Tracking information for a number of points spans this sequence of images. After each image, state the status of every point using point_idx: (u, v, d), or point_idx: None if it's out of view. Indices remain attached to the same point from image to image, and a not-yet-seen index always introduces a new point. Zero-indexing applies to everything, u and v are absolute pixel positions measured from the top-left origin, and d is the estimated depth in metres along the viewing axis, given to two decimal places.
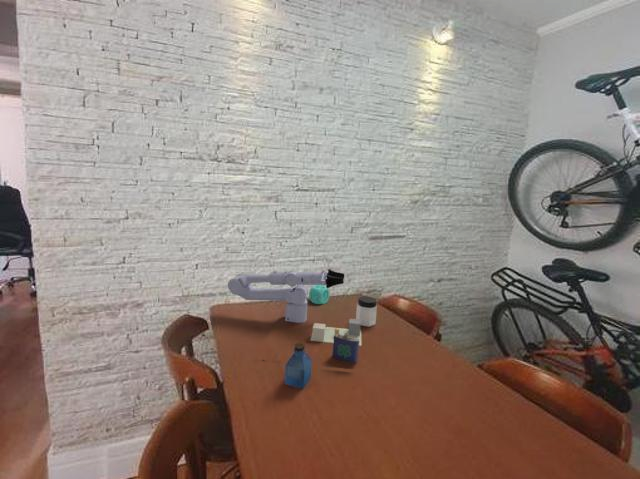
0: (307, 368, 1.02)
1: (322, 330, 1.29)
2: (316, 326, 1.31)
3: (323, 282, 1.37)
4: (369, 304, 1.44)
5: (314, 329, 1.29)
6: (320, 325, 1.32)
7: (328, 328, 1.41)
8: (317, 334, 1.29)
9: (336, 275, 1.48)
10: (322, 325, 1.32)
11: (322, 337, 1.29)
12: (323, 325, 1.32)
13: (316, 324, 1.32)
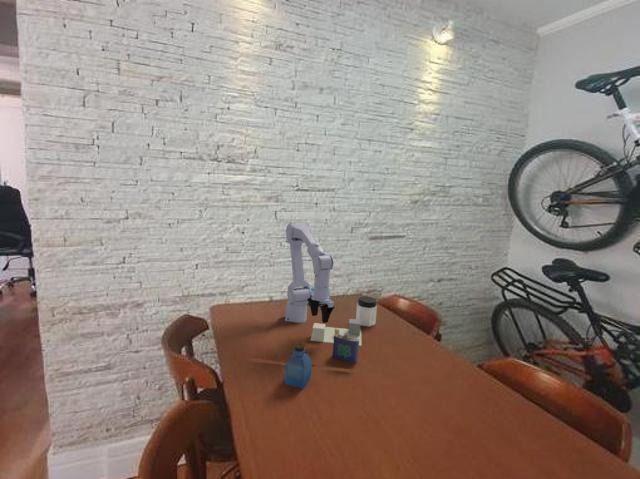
0: (307, 368, 1.02)
1: (322, 330, 1.29)
2: (316, 326, 1.31)
3: None
4: (369, 304, 1.44)
5: (314, 329, 1.29)
6: (320, 325, 1.32)
7: (328, 328, 1.41)
8: (317, 334, 1.29)
9: None
10: (322, 325, 1.32)
11: (322, 337, 1.29)
12: (323, 325, 1.32)
13: (316, 324, 1.32)
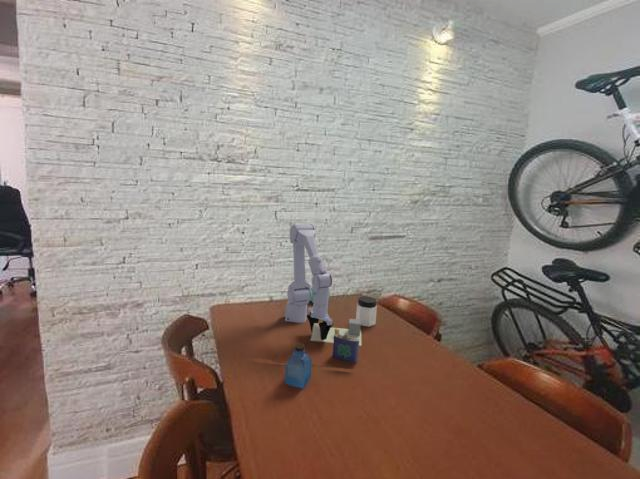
0: (307, 368, 1.02)
1: None
2: (316, 326, 1.31)
3: None
4: (369, 304, 1.44)
5: (314, 329, 1.29)
6: None
7: None
8: (317, 334, 1.29)
9: None
10: None
11: None
12: None
13: (316, 324, 1.32)
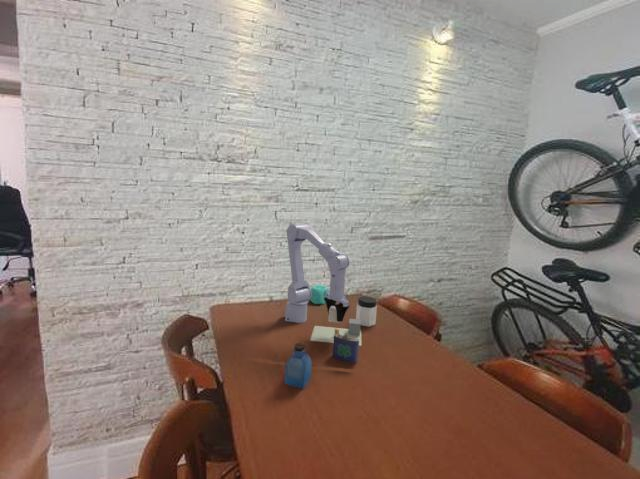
0: (307, 368, 1.02)
1: None
2: (332, 308, 1.31)
3: None
4: (369, 304, 1.44)
5: (330, 311, 1.30)
6: None
7: (328, 328, 1.41)
8: (333, 316, 1.30)
9: None
10: None
11: None
12: None
13: (332, 306, 1.33)
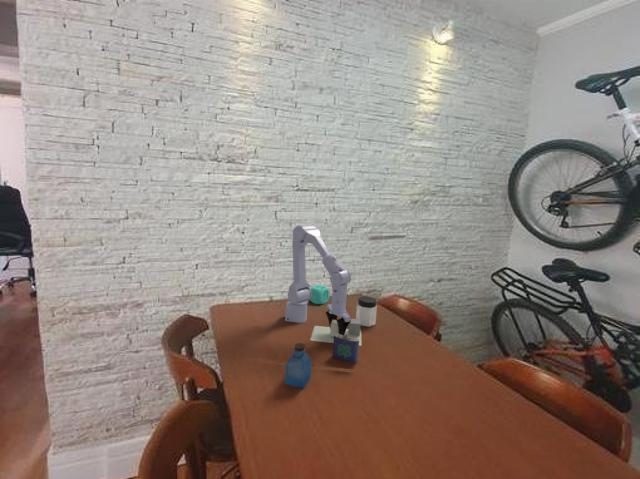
0: (307, 368, 1.02)
1: None
2: (334, 323, 1.33)
3: None
4: (369, 304, 1.44)
5: (332, 325, 1.31)
6: None
7: (328, 328, 1.41)
8: (335, 331, 1.32)
9: None
10: None
11: None
12: None
13: (334, 321, 1.35)
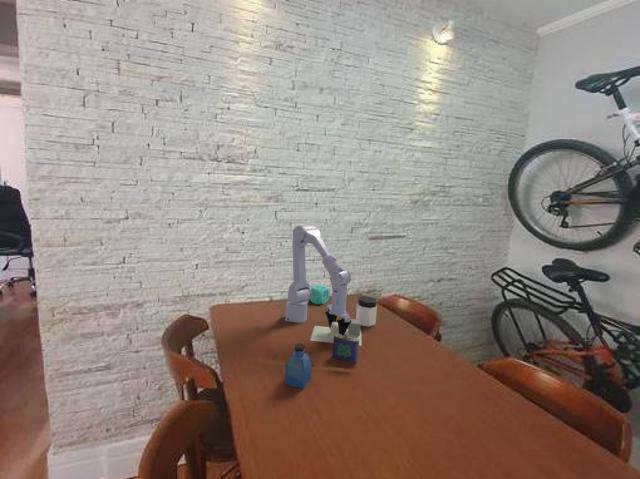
0: (307, 368, 1.02)
1: None
2: (334, 325, 1.33)
3: None
4: (369, 304, 1.44)
5: (332, 327, 1.32)
6: None
7: (328, 328, 1.41)
8: (335, 333, 1.32)
9: None
10: None
11: None
12: None
13: (334, 323, 1.35)
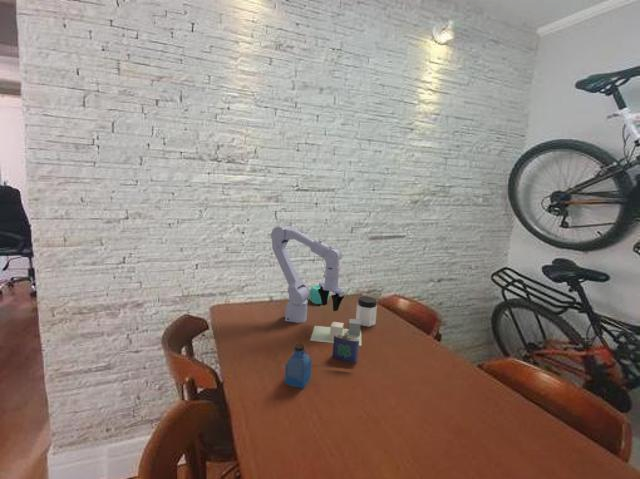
0: (307, 368, 1.02)
1: (340, 329, 1.31)
2: (334, 325, 1.33)
3: None
4: (369, 304, 1.44)
5: (332, 327, 1.32)
6: (338, 324, 1.34)
7: (328, 328, 1.41)
8: (335, 333, 1.32)
9: None
10: (340, 324, 1.34)
11: None
12: (341, 324, 1.34)
13: (334, 323, 1.35)
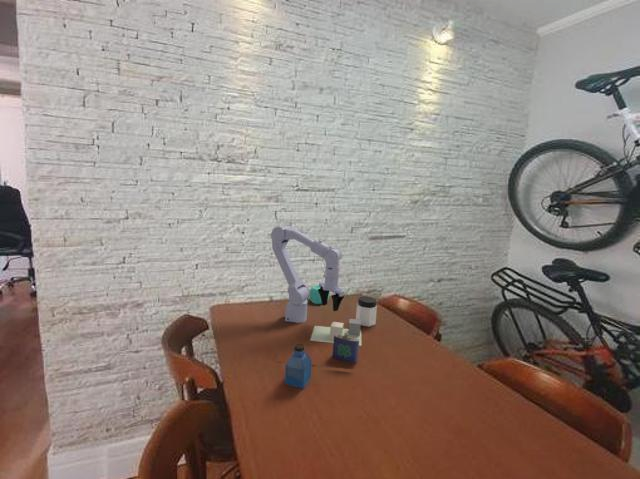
0: (307, 368, 1.02)
1: (340, 329, 1.31)
2: (334, 325, 1.33)
3: None
4: (369, 304, 1.44)
5: (332, 327, 1.32)
6: (338, 324, 1.34)
7: (328, 328, 1.41)
8: (335, 333, 1.32)
9: None
10: (340, 324, 1.34)
11: None
12: (341, 324, 1.34)
13: (334, 323, 1.35)
